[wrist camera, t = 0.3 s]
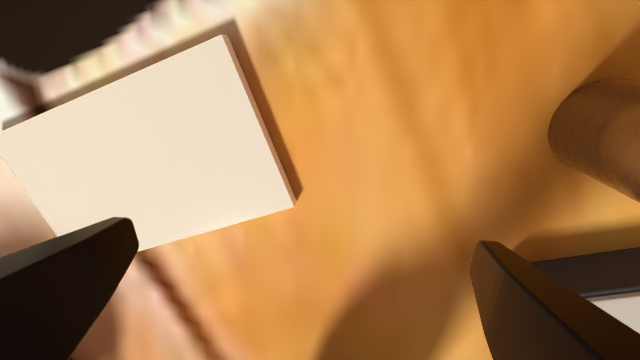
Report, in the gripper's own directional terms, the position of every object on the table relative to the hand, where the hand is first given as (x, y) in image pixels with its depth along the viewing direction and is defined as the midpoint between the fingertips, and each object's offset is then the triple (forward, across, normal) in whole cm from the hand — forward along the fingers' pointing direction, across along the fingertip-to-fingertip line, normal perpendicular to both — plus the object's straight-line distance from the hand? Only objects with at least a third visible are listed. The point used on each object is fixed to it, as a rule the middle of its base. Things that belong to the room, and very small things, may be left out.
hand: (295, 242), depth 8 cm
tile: (+14, +14, +5) cm, 20 cm away
